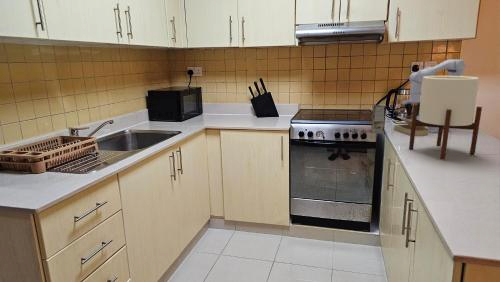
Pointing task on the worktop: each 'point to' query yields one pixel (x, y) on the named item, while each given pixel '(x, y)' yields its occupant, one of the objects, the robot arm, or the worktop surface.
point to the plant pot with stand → (447, 108)
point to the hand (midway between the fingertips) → (412, 115)
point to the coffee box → (378, 119)
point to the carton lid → (410, 121)
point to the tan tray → (407, 130)
